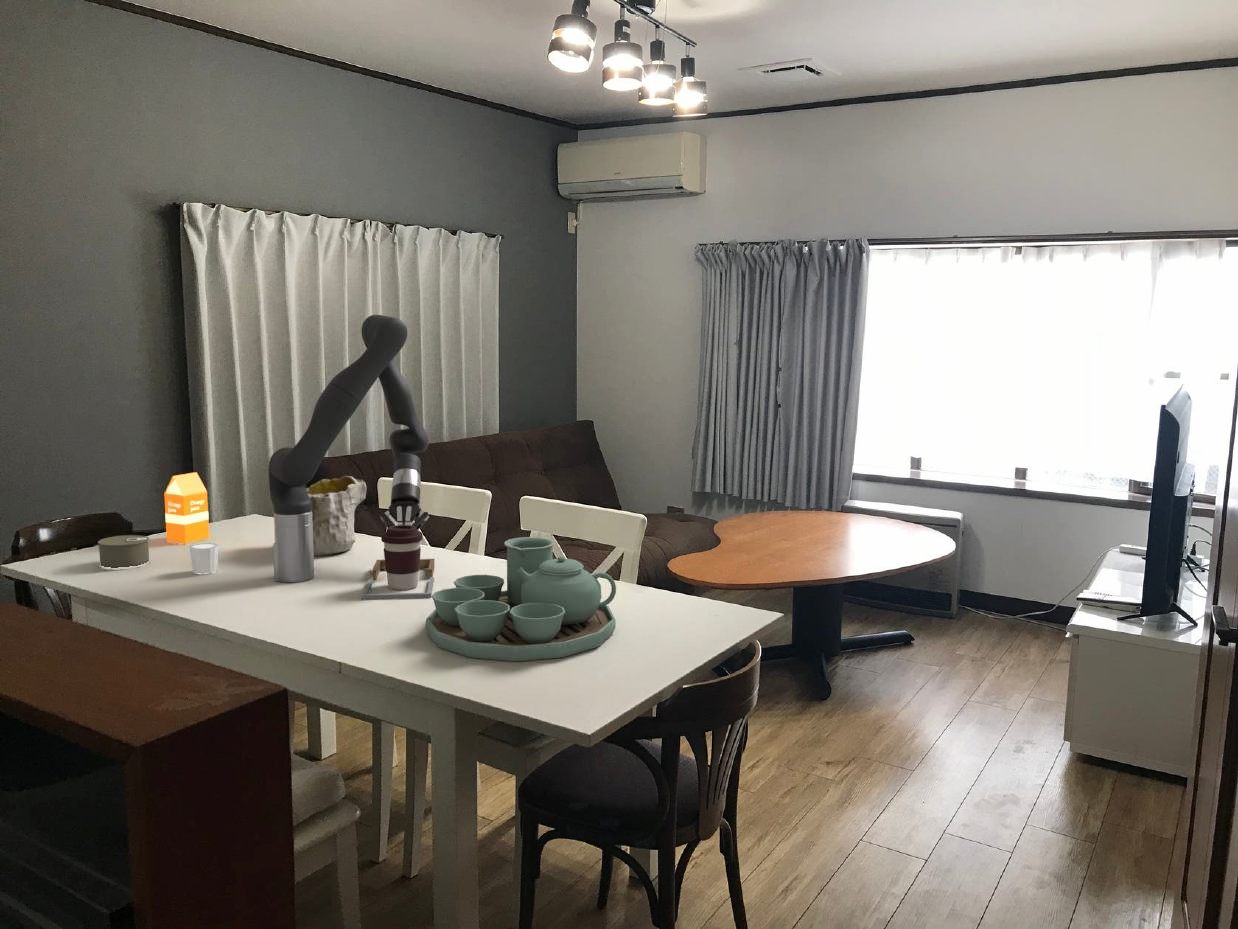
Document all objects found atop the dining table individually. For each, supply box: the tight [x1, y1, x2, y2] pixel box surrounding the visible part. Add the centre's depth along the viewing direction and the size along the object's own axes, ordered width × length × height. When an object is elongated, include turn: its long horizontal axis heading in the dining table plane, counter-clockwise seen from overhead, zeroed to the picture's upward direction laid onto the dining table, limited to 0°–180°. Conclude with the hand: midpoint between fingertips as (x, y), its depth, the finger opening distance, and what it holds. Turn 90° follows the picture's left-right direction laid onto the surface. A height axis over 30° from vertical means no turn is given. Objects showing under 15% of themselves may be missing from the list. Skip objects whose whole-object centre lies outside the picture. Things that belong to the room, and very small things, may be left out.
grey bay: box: [361, 576, 435, 600], centre depth 234 cm, size 16×15×1 cm
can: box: [97, 534, 150, 568], centre depth 254 cm, size 12×12×7 cm
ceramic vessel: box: [306, 475, 367, 557], centre depth 272 cm, size 23×24×25 cm
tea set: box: [425, 536, 617, 662], centre depth 204 cm, size 40×40×16 cm
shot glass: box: [189, 543, 219, 574], centre depth 248 cm, size 7×7×7 cm
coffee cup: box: [380, 524, 424, 591], centre depth 236 cm, size 10×10×15 cm
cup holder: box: [371, 558, 435, 581], centre depth 249 cm, size 15×12×2 cm
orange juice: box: [163, 471, 210, 544], centre depth 282 cm, size 8×9×20 cm
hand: (402, 544), depth 245 cm, fingers closed
